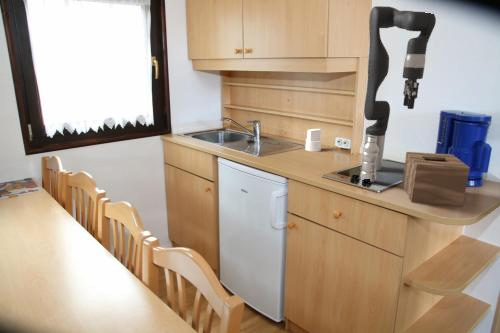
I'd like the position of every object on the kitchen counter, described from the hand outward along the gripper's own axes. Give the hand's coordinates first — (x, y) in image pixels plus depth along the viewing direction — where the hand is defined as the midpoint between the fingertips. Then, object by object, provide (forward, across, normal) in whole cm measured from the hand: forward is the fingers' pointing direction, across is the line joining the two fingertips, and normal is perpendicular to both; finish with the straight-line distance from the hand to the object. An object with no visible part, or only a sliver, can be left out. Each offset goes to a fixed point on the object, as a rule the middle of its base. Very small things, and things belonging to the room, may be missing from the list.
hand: (408, 107), depth 154 cm
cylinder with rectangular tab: (+35, -58, -38) cm, 77 cm away
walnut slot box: (+33, +10, +11) cm, 37 cm away
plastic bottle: (+34, -2, -12) cm, 36 cm away
